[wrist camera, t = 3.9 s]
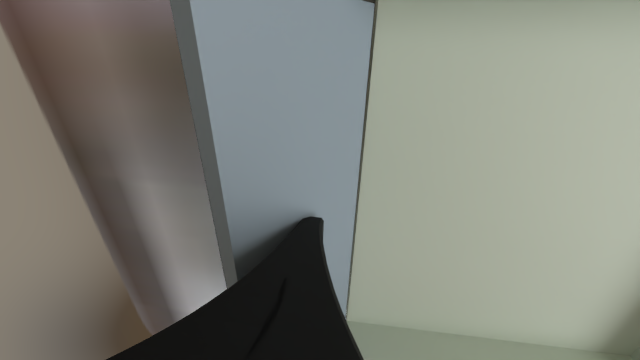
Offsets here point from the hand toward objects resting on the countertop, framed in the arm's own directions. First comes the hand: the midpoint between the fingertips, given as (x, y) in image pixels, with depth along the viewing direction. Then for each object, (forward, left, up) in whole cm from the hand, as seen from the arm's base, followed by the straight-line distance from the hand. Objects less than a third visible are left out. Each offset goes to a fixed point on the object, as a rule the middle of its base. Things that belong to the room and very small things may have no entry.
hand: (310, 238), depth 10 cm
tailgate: (0, -2, -3) cm, 3 cm away
